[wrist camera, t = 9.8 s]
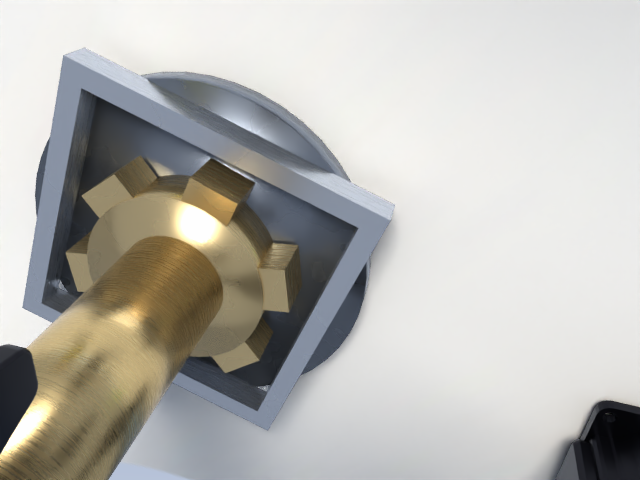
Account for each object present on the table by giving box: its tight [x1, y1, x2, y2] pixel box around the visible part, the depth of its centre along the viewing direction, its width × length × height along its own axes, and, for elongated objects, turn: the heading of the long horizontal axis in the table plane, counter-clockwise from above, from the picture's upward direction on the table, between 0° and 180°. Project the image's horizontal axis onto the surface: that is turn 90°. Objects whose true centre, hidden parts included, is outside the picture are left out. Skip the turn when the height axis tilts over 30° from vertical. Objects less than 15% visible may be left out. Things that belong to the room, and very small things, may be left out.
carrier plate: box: [23, 48, 395, 430], centre depth 23 cm, size 14×14×4 cm
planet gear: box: [0, 156, 302, 480], centre depth 18 cm, size 9×8×12 cm
